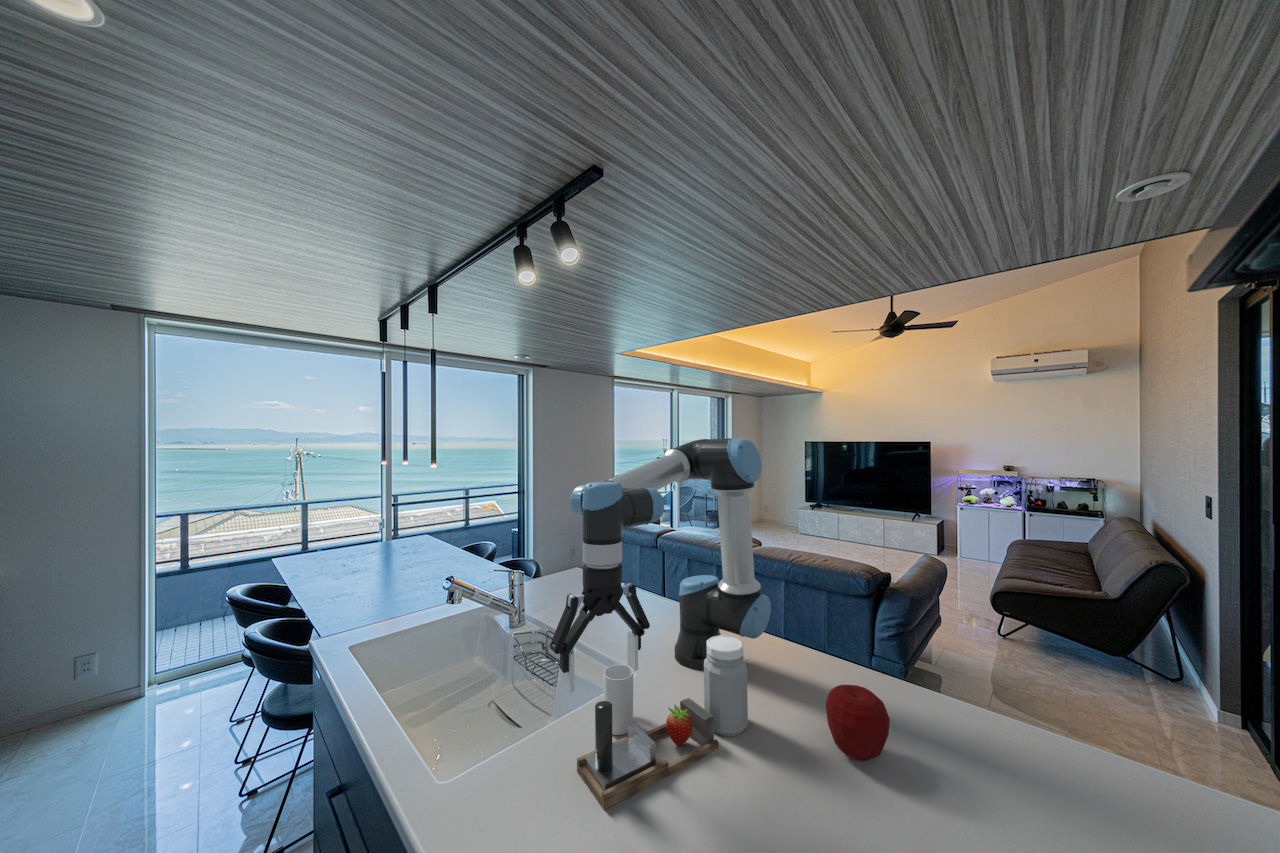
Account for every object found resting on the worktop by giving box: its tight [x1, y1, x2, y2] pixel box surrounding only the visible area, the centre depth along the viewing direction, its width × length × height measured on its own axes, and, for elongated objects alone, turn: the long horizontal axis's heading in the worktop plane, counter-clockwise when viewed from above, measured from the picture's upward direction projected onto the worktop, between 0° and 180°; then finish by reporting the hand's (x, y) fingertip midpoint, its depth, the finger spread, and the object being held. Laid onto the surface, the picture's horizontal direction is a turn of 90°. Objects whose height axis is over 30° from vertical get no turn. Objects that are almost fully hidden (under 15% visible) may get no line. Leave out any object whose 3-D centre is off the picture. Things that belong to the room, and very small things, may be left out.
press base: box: [576, 697, 720, 811], centre depth 88 cm, size 27×11×6 cm, turn 124°
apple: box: [825, 684, 891, 762], centre depth 89 cm, size 12×12×13 cm
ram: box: [585, 700, 657, 790], centre depth 84 cm, size 11×8×12 cm
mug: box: [603, 663, 634, 736], centre depth 100 cm, size 10×7×12 cm, turn 160°
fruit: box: [666, 704, 692, 746], centre depth 92 cm, size 5×5×8 cm
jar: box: [703, 634, 749, 737], centre depth 99 cm, size 10×10×18 cm
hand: (602, 677), depth 83 cm, fingers open, 13 cm apart
